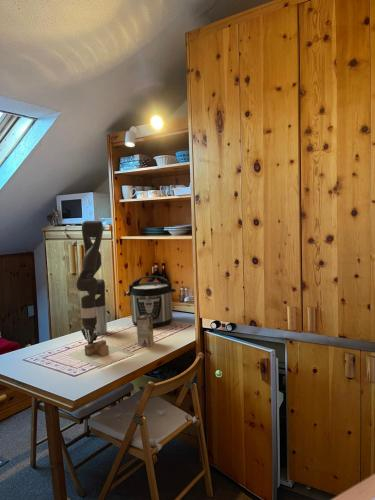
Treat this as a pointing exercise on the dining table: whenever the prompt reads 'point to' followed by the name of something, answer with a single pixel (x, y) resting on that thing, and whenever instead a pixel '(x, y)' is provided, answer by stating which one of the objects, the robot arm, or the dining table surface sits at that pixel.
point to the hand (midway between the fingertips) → (90, 348)
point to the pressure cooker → (151, 300)
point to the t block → (97, 349)
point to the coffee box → (145, 330)
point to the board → (98, 360)
